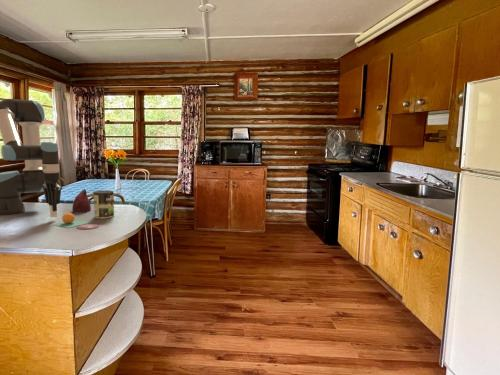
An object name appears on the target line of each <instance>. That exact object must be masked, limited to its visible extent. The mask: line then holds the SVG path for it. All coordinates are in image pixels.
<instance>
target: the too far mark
mask: <svg viewBox="0 0 500 375" xmlns="http://www.w3.org/2000/svg"><path fill="white" fill-rule="evenodd" d="M99 227H100V225H99V224H94V223H93V224H92V223H88V224H84V225H80V226H76V229H77V230H82V231H86V230H94V229H98V228H99Z"/></svg>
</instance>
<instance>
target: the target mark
mask: <svg viewBox="0 0 500 375" xmlns="http://www.w3.org/2000/svg"><path fill="white" fill-rule="evenodd" d="M86 224H90V222H88V221H82V220H78V219H77V220H76V219H74V221H73V222H72V223H70V224H66V223H64V222H63V221H62V222H59V223H53V224H52V226H55V227H56V226H57V227H60V228H66V229H71V228H75V227H78V226H81V225H86Z"/></svg>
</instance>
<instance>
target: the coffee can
mask: <svg viewBox="0 0 500 375" xmlns="http://www.w3.org/2000/svg"><path fill="white" fill-rule="evenodd" d="M92 193H93V211H94V212H93V213H94V218H95V219H103V220H104V219H109V218H110V219H111V218H114V217H115V203H114V200H115V199H114V191H113V190H96V191H93V192H92Z"/></svg>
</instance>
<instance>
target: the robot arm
mask: <svg viewBox="0 0 500 375" xmlns="http://www.w3.org/2000/svg"><path fill="white" fill-rule="evenodd" d="M45 117H46V115H45V110H44V107H43V105H42V103H41V102H39V101H37V100H31V99H19V98H18V99H17V98H16V99H15V98H4V99H2V100H0V134H1V138H2V142H3V145H2V146H1V147H0V148H1V149H0V150H1V158H2V160H4V161H14V162H15V161H24V166H25V167H24V168H23V169H22V172H21V173H20V171H18V170H12V171H11V170H10V171H3V172H0V215H1V216H2V215H3V216H5V215H6V216H7V215H15V214H20V213H25V211H26V207H25V206H26V205H25V204H24V202H23V200H22V198H21V194H28V193H30V194H31V193H42V192H43V194H44V200H45V202H46V204H47V205H49V218H51V219H53V218H57V217H58V212H57V211H58V205H59V204H60V203H61V194H62V189H63V186H61V185H59V180H60V178H61V177H60V176H61V175H60V160H59V159H60V158H59V157H60V156H59V145H58V142H54V141H41V134H40V126H41V125H42V124H43V123H42V122H44V121H45V119H46V118H45ZM15 121H18V122H17V123H18V124H19V125H20V126H21V131H22V132H21V133H22V134H21V135H22V139H21V137H20V133H19V130H18V127H17V124H16V122H15ZM22 142H23V143H22Z"/></svg>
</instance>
